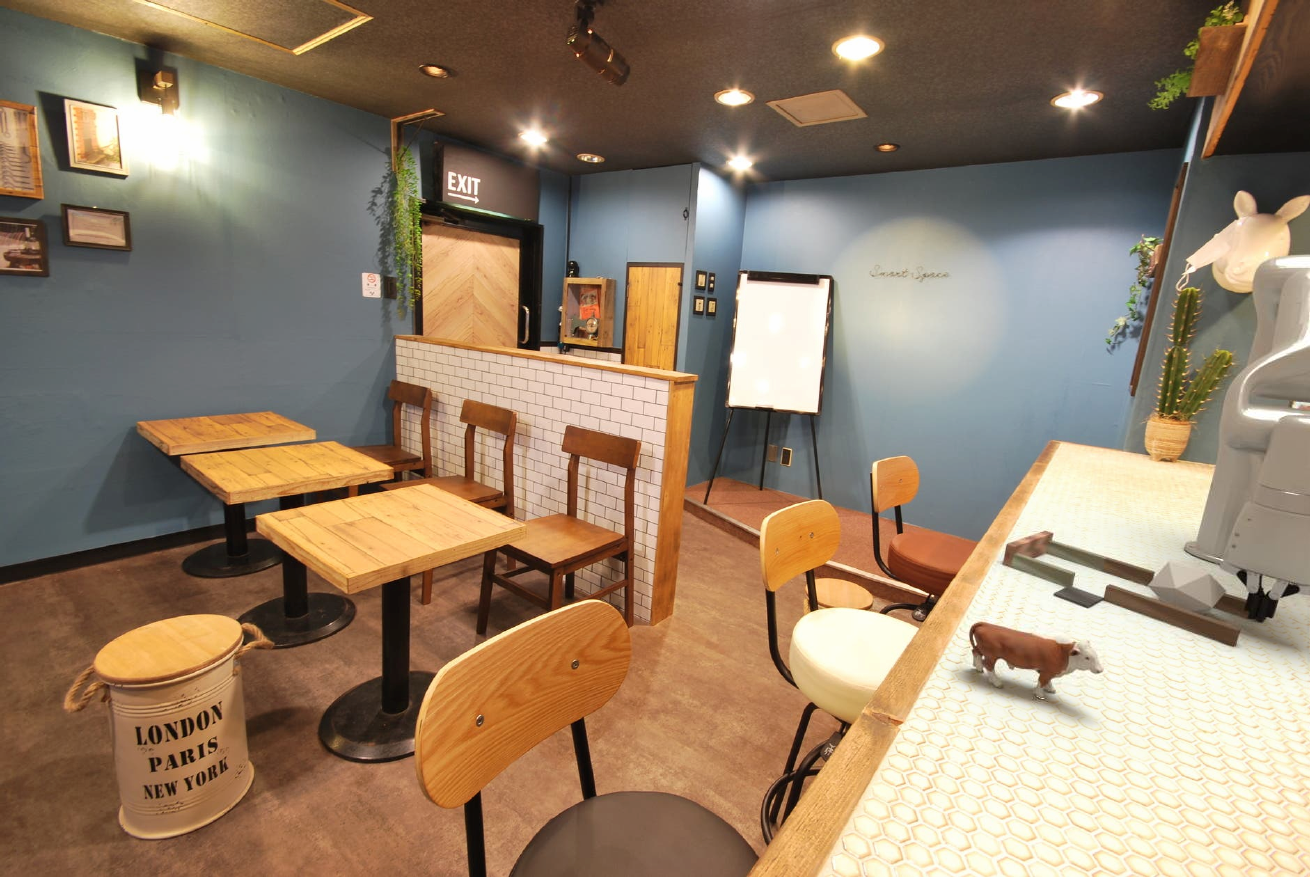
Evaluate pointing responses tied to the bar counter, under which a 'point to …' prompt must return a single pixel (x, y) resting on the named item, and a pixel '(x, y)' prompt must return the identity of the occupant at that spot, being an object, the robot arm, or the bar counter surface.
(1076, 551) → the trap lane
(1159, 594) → the die
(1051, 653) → the bull figurine
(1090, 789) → the bar counter surface
